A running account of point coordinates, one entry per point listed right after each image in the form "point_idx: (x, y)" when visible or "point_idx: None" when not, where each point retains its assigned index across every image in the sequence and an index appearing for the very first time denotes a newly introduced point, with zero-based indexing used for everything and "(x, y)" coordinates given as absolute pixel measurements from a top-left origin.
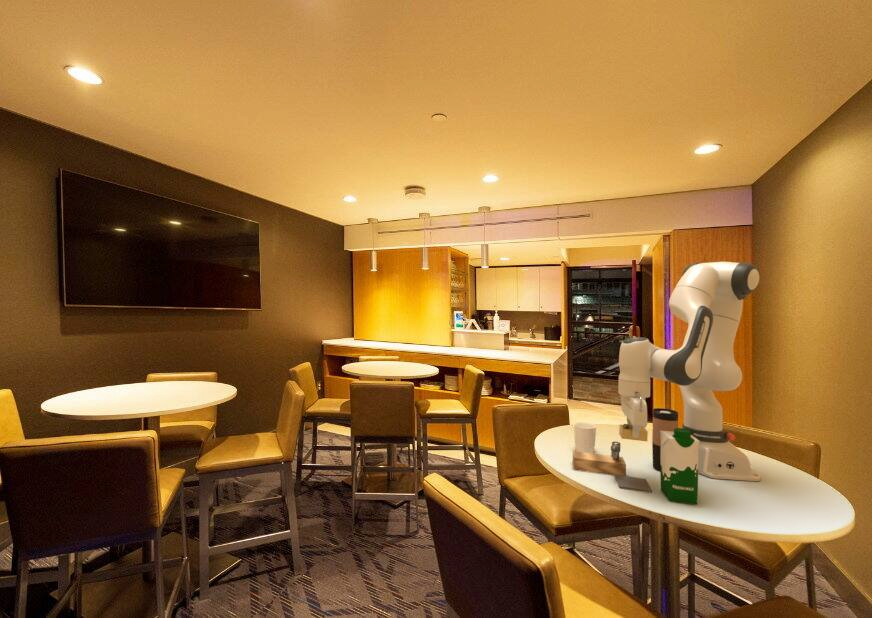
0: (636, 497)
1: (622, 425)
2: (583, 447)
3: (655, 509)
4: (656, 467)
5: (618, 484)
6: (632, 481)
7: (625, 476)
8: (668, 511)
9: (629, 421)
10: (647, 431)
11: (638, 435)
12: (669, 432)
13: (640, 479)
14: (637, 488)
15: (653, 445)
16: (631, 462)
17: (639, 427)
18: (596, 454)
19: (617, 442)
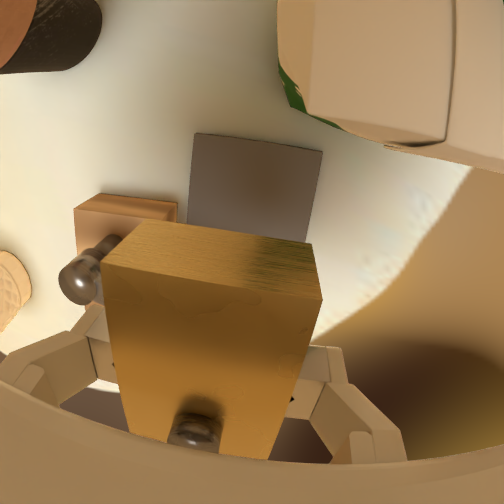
0: (367, 229)
1: (149, 427)
2: (19, 299)
3: (442, 202)
4: (74, 61)
5: None
6: (240, 200)
7: (193, 212)
8: (452, 166)
9: (65, 386)
10: (321, 300)
11: (341, 362)
12: (404, 19)
13: (209, 159)
14: (309, 206)
15: (2, 71)
16: (34, 142)
17: (394, 436)
18: (91, 304)
19: (69, 278)
